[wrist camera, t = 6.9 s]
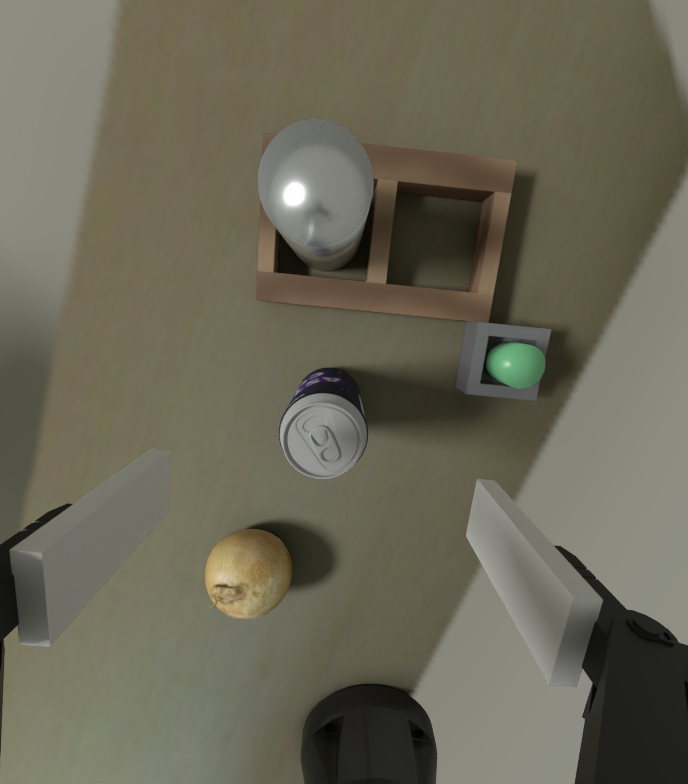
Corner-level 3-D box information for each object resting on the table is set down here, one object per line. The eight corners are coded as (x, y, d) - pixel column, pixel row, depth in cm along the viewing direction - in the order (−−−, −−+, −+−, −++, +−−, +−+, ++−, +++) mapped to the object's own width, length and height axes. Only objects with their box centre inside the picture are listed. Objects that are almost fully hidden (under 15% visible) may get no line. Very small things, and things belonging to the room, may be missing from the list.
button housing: (519, 393, 34) (536, 400, 31) (455, 387, 33) (466, 394, 31) (532, 327, 32) (551, 329, 29) (466, 321, 32) (478, 321, 29)
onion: (283, 509, 36) (269, 556, 29) (304, 576, 38) (296, 635, 31) (206, 527, 36) (175, 577, 30) (230, 592, 38) (206, 655, 31)
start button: (521, 383, 31) (540, 390, 28) (481, 379, 31) (496, 386, 28) (529, 343, 30) (549, 346, 27) (489, 339, 30) (505, 342, 27)
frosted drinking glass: (357, 274, 31) (367, 251, 20) (287, 267, 31) (255, 239, 19) (365, 198, 30) (380, 125, 18) (292, 191, 30) (260, 112, 18)
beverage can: (344, 356, 33) (346, 380, 21) (369, 411, 34) (384, 464, 22) (287, 381, 33) (259, 418, 22) (314, 435, 34) (300, 498, 23)
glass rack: (477, 322, 32) (488, 322, 30) (262, 301, 32) (256, 300, 29) (502, 173, 30) (517, 160, 27) (269, 147, 29) (263, 132, 27)
